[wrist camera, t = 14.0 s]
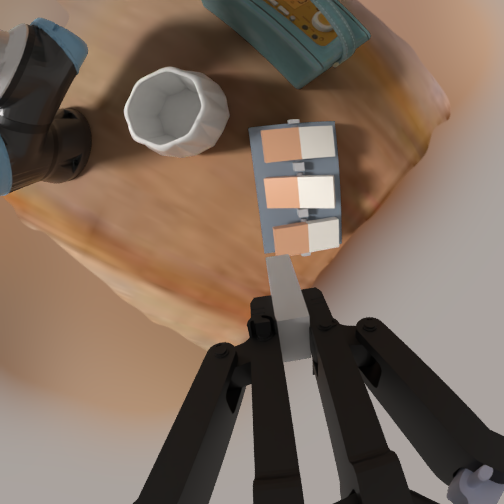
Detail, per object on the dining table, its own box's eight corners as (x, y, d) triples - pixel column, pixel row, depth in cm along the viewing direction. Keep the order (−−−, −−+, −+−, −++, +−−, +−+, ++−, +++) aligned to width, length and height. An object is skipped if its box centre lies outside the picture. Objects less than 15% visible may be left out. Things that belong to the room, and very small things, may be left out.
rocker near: (263, 164, 38) (266, 165, 35) (259, 128, 35) (261, 127, 33) (329, 157, 38) (335, 158, 36) (326, 123, 36) (332, 123, 34)
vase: (245, 96, 40) (244, 76, 26) (208, 169, 45) (190, 183, 31) (172, 67, 37) (141, 42, 23) (138, 138, 42) (95, 142, 28)
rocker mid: (272, 206, 43) (267, 210, 41) (268, 173, 40) (263, 176, 39) (336, 206, 39) (334, 210, 37) (334, 171, 36) (332, 173, 35)
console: (263, 242, 50) (265, 260, 43) (247, 126, 42) (247, 123, 35) (333, 234, 50) (347, 250, 43) (326, 120, 42) (340, 117, 34)
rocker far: (274, 254, 43) (277, 260, 41) (270, 222, 41) (274, 227, 39) (333, 243, 44) (339, 248, 42) (332, 213, 42) (338, 217, 40)
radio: (343, 62, 37) (397, 27, 19) (299, 94, 40) (334, 66, 22) (245, -24, 29) (244, -87, 11) (199, 4, 32) (175, -54, 14)
